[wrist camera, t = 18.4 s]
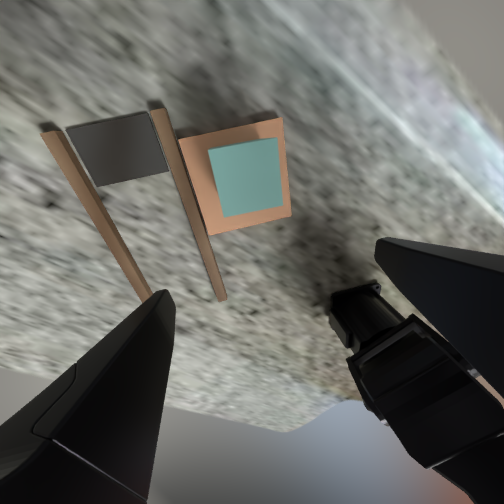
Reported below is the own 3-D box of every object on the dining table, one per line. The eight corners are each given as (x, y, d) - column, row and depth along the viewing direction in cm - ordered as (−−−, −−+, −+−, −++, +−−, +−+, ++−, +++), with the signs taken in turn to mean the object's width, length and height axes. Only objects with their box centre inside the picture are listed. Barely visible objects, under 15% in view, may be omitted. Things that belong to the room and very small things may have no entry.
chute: (166, 109, 15) (164, 107, 14) (227, 295, 24) (227, 299, 23) (47, 134, 15) (39, 133, 14) (153, 313, 23) (152, 318, 23)
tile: (279, 118, 16) (282, 117, 16) (289, 213, 20) (291, 216, 19) (179, 139, 16) (178, 139, 15) (209, 232, 20) (209, 235, 19)
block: (260, 138, 16) (277, 137, 12) (266, 190, 18) (283, 205, 14) (210, 148, 16) (207, 150, 11) (221, 199, 18) (223, 217, 13)
